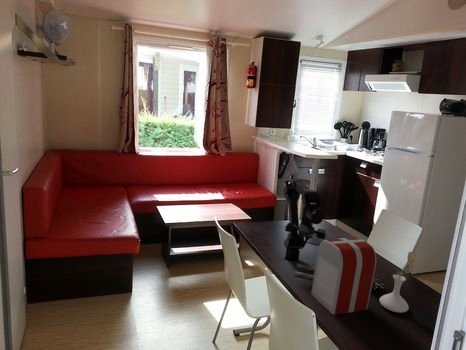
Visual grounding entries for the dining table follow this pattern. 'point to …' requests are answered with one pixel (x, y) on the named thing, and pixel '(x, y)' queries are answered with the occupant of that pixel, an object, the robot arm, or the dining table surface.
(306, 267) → the birch dock
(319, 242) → the toy spaceship
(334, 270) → the striped gift box
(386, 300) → the flower in vase
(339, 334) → the dining table surface
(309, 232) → the robot arm
